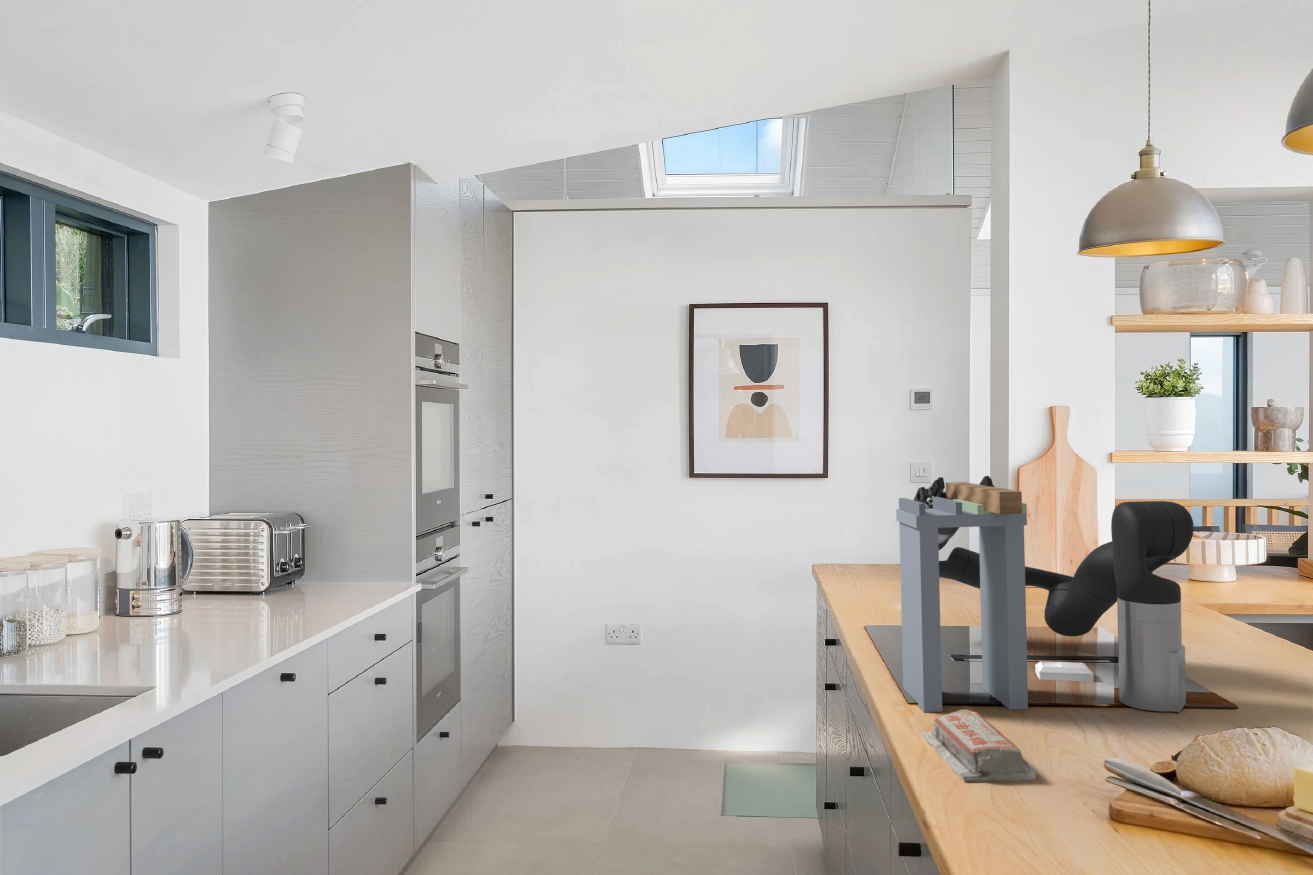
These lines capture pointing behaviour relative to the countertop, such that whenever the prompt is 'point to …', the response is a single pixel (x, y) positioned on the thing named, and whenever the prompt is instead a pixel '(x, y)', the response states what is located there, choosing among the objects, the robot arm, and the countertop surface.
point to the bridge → (997, 593)
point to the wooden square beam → (987, 497)
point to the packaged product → (977, 749)
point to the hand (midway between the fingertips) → (965, 481)
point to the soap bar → (1063, 671)
